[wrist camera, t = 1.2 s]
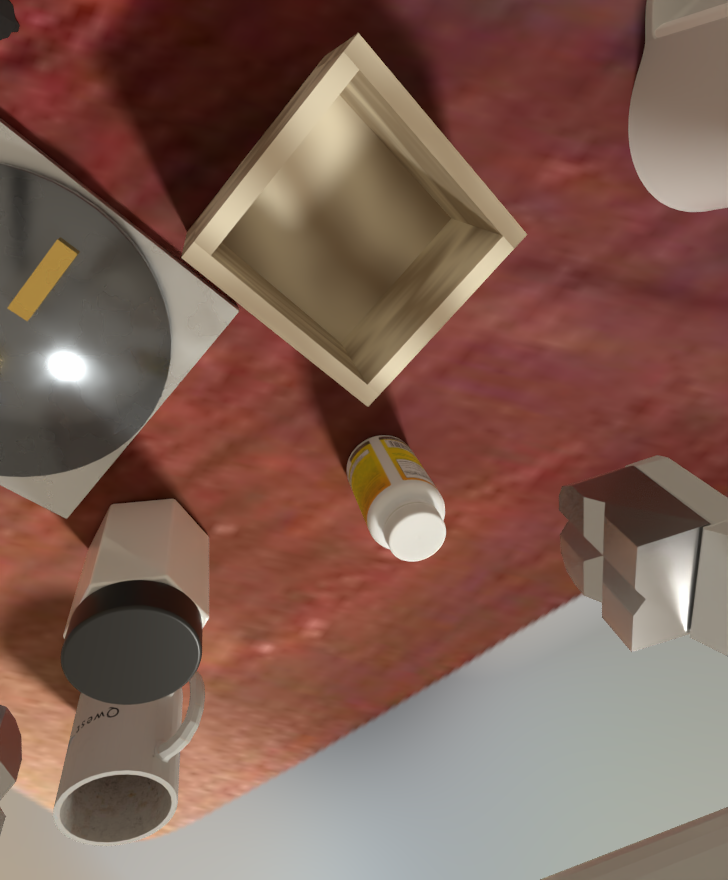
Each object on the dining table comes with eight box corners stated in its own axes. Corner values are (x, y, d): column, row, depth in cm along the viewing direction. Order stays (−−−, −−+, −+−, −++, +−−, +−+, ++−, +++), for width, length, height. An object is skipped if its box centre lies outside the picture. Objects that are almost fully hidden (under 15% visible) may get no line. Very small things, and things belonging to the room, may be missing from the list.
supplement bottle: (350, 500, 49) (381, 581, 40) (339, 441, 46) (370, 513, 37) (415, 483, 50) (460, 560, 41) (408, 424, 47) (455, 492, 38)
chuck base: (-67, 64, 31) (-75, 62, 30) (238, 307, 40) (239, 311, 39) (-246, 347, 35) (-258, 353, 34) (69, 511, 44) (66, 518, 43)
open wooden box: (324, 56, 35) (358, 32, 27) (465, 215, 41) (527, 234, 33) (187, 232, 37) (181, 257, 29) (339, 357, 43) (368, 407, 35)
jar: (97, 590, 47) (66, 718, 37) (78, 504, 44) (38, 618, 33) (213, 576, 49) (214, 694, 39) (204, 492, 45) (203, 597, 35)
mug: (118, 746, 55) (101, 860, 46) (57, 694, 51) (26, 809, 42) (236, 685, 55) (241, 788, 46) (185, 627, 51) (180, 729, 42)
